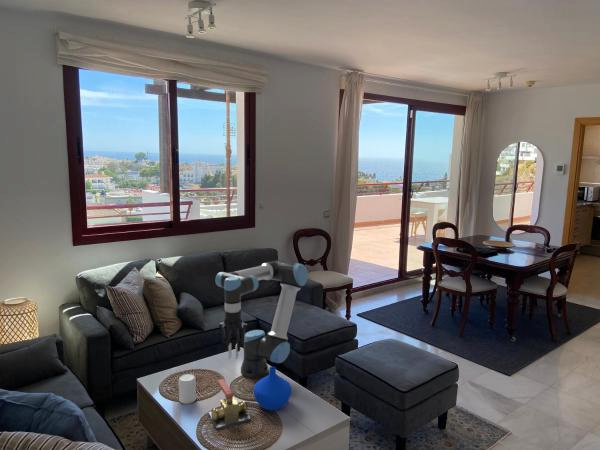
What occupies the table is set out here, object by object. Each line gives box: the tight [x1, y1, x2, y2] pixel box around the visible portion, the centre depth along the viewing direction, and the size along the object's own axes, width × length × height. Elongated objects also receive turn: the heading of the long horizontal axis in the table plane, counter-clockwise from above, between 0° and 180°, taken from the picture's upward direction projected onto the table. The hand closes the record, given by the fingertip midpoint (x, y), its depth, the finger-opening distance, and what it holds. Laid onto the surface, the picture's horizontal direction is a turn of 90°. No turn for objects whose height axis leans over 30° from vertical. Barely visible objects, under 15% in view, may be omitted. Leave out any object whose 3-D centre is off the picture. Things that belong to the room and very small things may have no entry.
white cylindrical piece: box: [178, 373, 197, 405], centre depth 219 cm, size 8×8×12 cm
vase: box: [253, 366, 292, 411], centre depth 215 cm, size 18×18×19 cm
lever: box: [217, 378, 234, 399], centre depth 209 cm, size 15×4×2 cm, turn 27°
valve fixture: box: [208, 396, 252, 431], centre depth 205 cm, size 16×13×10 cm
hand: (233, 357), depth 212 cm, fingers open, 3 cm apart
